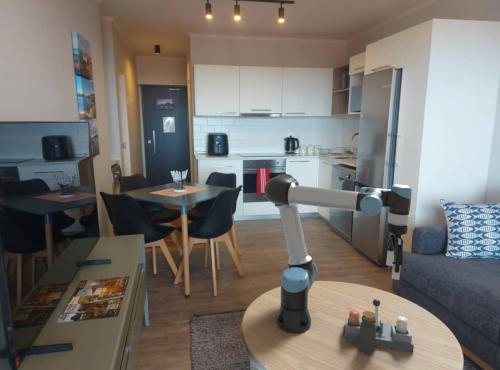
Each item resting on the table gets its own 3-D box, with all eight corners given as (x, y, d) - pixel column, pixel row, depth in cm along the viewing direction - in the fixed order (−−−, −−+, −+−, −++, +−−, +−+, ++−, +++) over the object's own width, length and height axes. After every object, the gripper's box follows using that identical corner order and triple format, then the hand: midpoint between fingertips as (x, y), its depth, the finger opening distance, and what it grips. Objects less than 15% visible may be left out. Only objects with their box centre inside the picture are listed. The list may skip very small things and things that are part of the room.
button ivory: (396, 332, 130) (397, 321, 129) (395, 326, 134) (396, 315, 133) (407, 334, 129) (408, 322, 128) (405, 328, 133) (406, 317, 132)
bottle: (377, 353, 127) (380, 317, 124) (364, 355, 125) (367, 319, 123) (368, 343, 132) (370, 308, 130) (355, 346, 131) (357, 311, 128)
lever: (372, 329, 135) (373, 298, 139) (371, 328, 138) (372, 298, 142) (380, 330, 134) (380, 299, 138) (379, 329, 137) (379, 299, 141)
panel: (345, 340, 134) (346, 324, 133) (344, 324, 145) (345, 308, 144) (413, 351, 128) (414, 334, 126) (407, 333, 139) (408, 317, 138)
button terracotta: (348, 325, 135) (349, 314, 134) (348, 320, 138) (349, 309, 138) (359, 327, 134) (359, 315, 133) (358, 321, 137) (359, 310, 137)
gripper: (415, 233, 122) (408, 286, 126) (401, 215, 146) (396, 261, 150) (393, 231, 124) (387, 284, 128) (383, 214, 148) (378, 259, 152)
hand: (392, 271), depth 139 cm, fingers open, 13 cm apart
